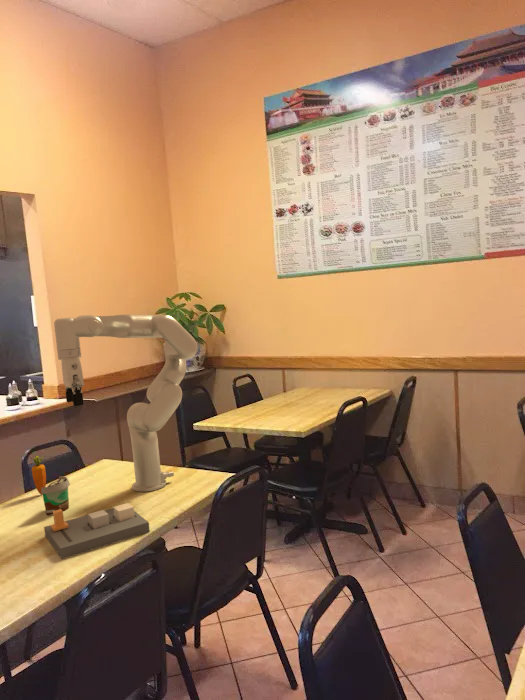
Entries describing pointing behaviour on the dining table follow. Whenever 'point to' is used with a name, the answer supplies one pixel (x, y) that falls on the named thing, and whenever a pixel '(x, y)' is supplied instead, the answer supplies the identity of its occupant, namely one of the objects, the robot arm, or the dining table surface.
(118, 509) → the cream button
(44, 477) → the carrot
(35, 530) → the dining table surface
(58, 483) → the food container
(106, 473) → the dining table surface
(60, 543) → the switch panel
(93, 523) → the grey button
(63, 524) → the orange slider handle
